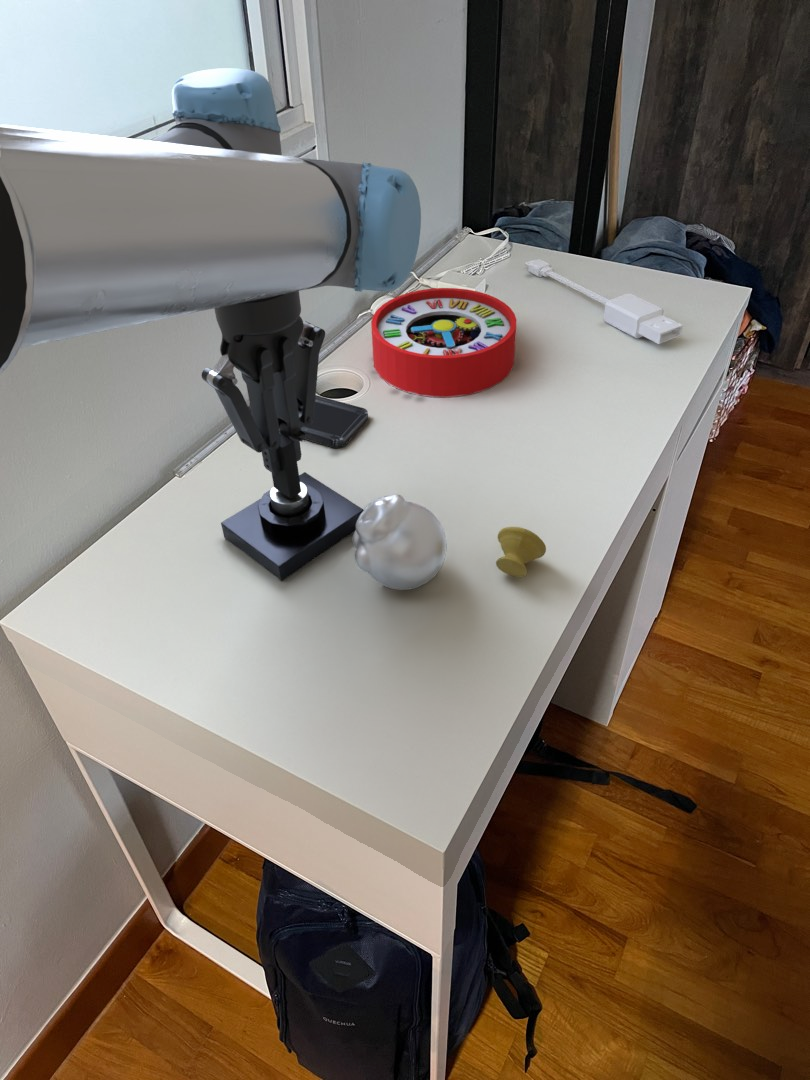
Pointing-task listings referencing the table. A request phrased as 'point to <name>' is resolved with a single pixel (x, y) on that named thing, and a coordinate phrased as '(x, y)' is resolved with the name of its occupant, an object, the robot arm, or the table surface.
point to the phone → (334, 422)
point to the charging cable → (622, 309)
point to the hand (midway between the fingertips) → (287, 489)
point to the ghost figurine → (399, 543)
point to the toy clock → (443, 342)
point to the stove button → (289, 503)
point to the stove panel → (292, 529)
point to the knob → (518, 550)
